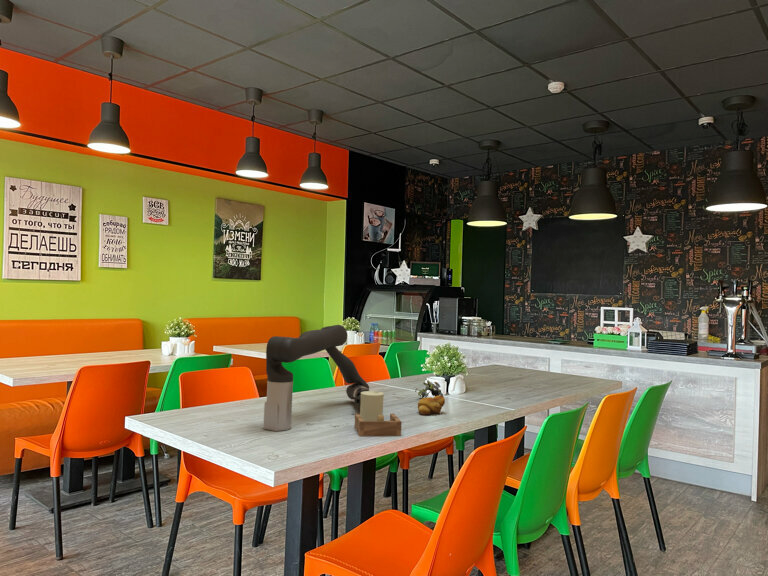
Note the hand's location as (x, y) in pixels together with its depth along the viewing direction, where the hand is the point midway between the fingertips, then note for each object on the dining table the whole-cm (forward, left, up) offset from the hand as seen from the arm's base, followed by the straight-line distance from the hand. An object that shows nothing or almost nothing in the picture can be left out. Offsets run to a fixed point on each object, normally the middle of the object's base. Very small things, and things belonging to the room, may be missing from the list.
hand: (369, 404), depth 222 cm
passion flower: (+54, 0, -6) cm, 55 cm away
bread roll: (+27, -13, -6) cm, 30 cm away
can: (-5, -4, -6) cm, 9 cm away
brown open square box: (-15, -13, -6) cm, 21 cm away
